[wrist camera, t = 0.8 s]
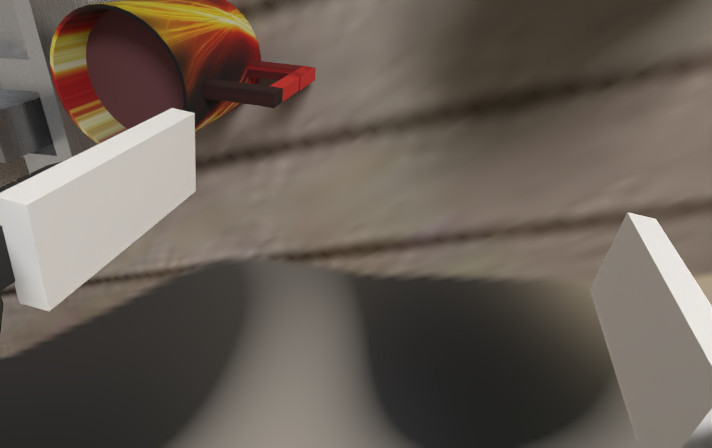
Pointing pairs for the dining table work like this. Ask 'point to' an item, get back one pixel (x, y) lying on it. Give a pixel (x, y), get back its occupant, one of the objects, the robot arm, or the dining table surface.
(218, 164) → the dining table surface
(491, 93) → the dining table surface
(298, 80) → the mug
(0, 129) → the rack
